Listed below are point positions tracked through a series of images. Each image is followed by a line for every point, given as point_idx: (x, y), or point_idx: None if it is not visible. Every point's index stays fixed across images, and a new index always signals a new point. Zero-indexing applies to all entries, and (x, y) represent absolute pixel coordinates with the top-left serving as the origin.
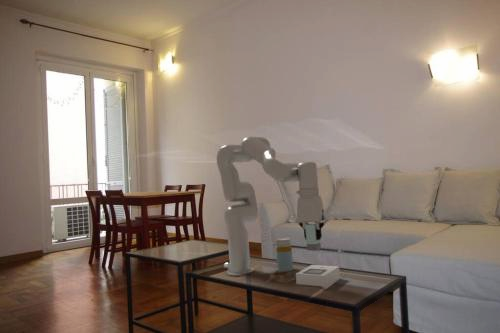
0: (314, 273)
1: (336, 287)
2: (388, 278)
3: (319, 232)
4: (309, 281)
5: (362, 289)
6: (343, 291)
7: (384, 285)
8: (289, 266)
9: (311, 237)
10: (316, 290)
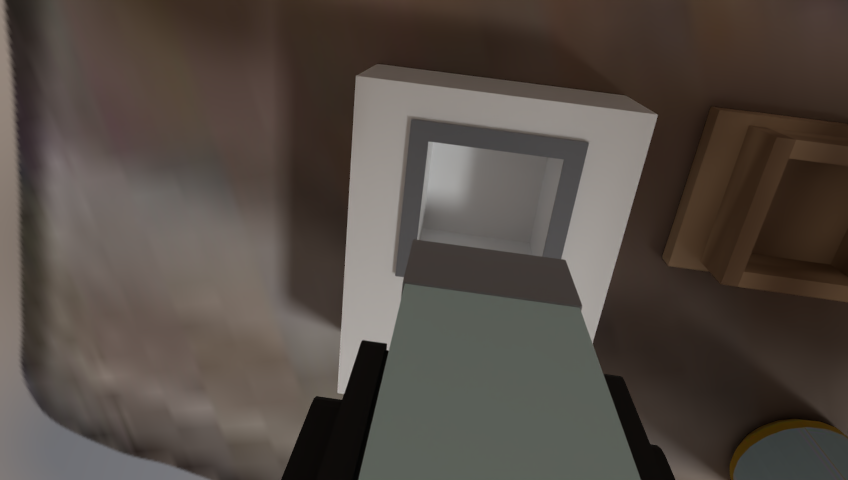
0: (467, 128)
1: (316, 129)
2: (85, 372)
3: (294, 465)
4: (511, 86)
5: (134, 112)
6: (236, 34)
7: (46, 227)
8: (769, 469)
9: (483, 362)
10: (439, 17)
